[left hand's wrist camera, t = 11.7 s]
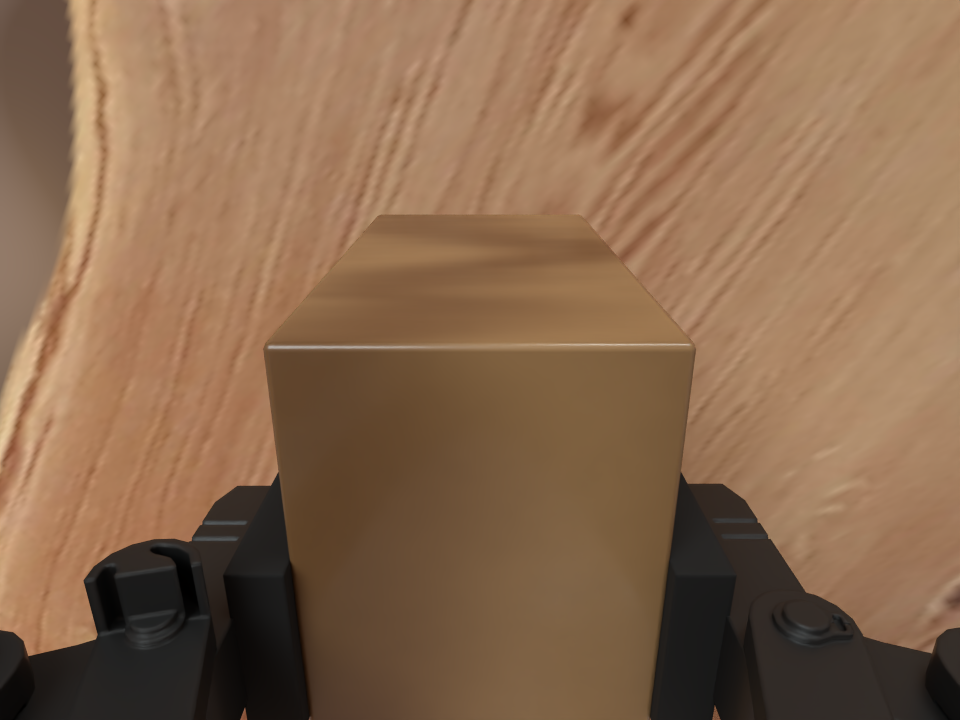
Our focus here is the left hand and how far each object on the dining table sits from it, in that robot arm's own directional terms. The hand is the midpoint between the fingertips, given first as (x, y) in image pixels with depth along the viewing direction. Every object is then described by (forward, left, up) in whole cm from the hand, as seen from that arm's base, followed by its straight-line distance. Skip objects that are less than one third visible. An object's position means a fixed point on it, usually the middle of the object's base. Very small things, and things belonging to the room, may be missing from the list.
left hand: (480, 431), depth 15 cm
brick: (0, 0, -3) cm, 3 cm away
